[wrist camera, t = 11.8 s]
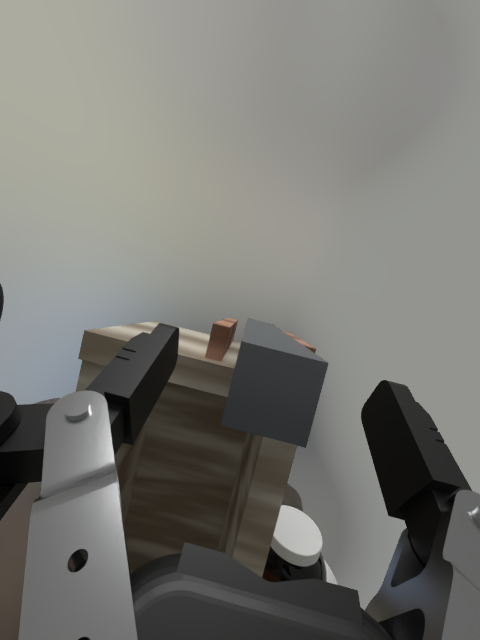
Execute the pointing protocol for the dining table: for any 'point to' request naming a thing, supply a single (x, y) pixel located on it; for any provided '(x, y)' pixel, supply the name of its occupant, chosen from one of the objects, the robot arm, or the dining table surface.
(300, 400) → the bar
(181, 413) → the wooden open box
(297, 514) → the spread jar
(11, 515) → the dining table surface
